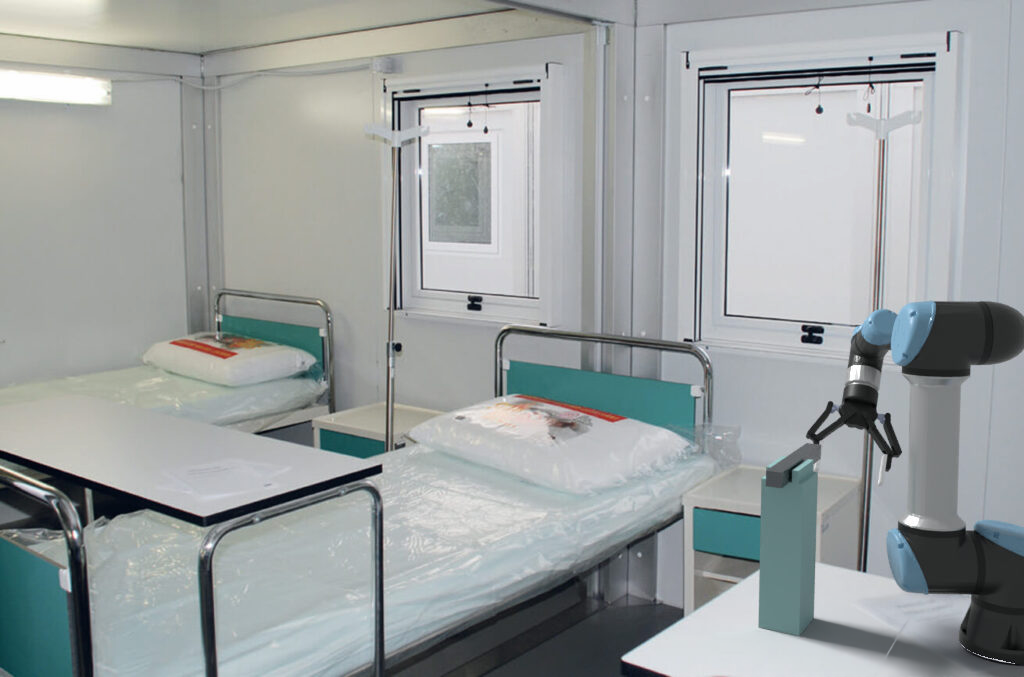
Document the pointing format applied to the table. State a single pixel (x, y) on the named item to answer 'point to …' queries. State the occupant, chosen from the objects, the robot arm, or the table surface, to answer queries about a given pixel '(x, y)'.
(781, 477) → the steel bar
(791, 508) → the notched post
